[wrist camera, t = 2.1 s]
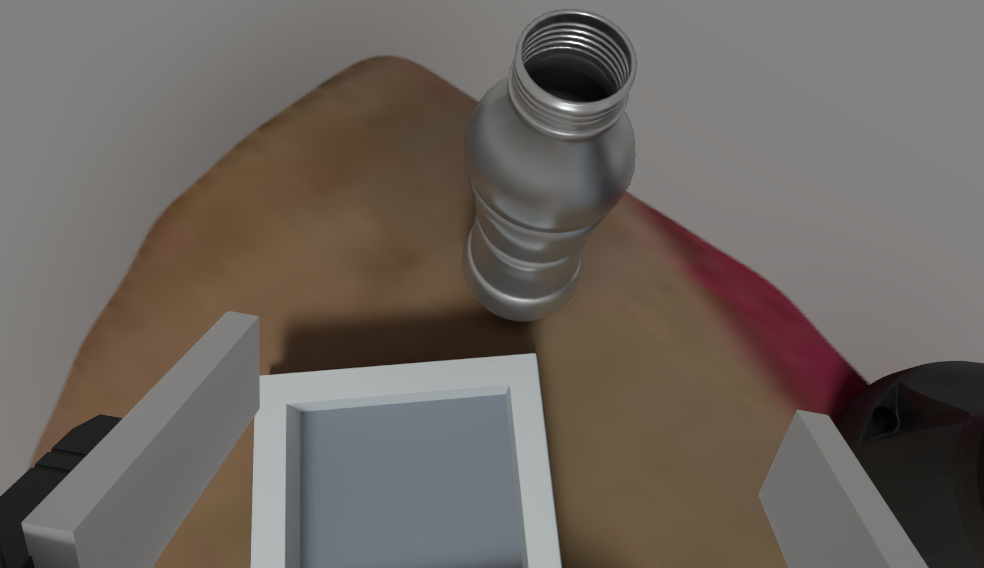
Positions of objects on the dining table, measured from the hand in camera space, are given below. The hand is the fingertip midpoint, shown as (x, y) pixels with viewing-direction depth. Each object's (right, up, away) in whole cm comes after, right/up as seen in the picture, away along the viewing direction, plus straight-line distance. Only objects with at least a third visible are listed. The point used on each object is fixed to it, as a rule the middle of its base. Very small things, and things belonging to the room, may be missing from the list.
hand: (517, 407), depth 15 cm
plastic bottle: (+1, +3, +23) cm, 23 cm away
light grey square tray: (-5, -9, +18) cm, 20 cm away
